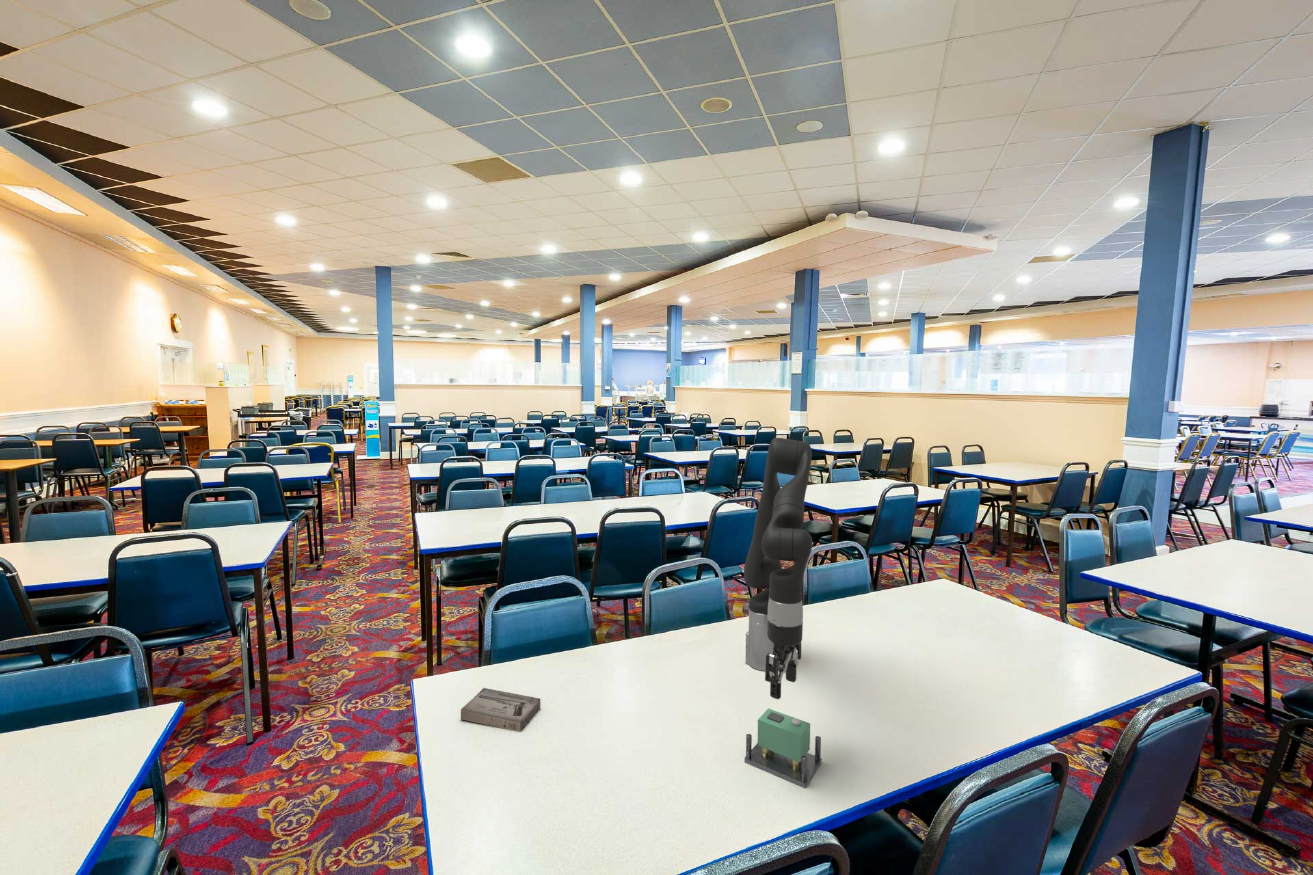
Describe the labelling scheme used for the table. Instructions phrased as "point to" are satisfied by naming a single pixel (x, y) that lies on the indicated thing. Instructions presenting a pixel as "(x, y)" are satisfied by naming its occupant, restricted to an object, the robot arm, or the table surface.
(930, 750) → the table surface
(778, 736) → the module block
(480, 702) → the box
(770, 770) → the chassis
